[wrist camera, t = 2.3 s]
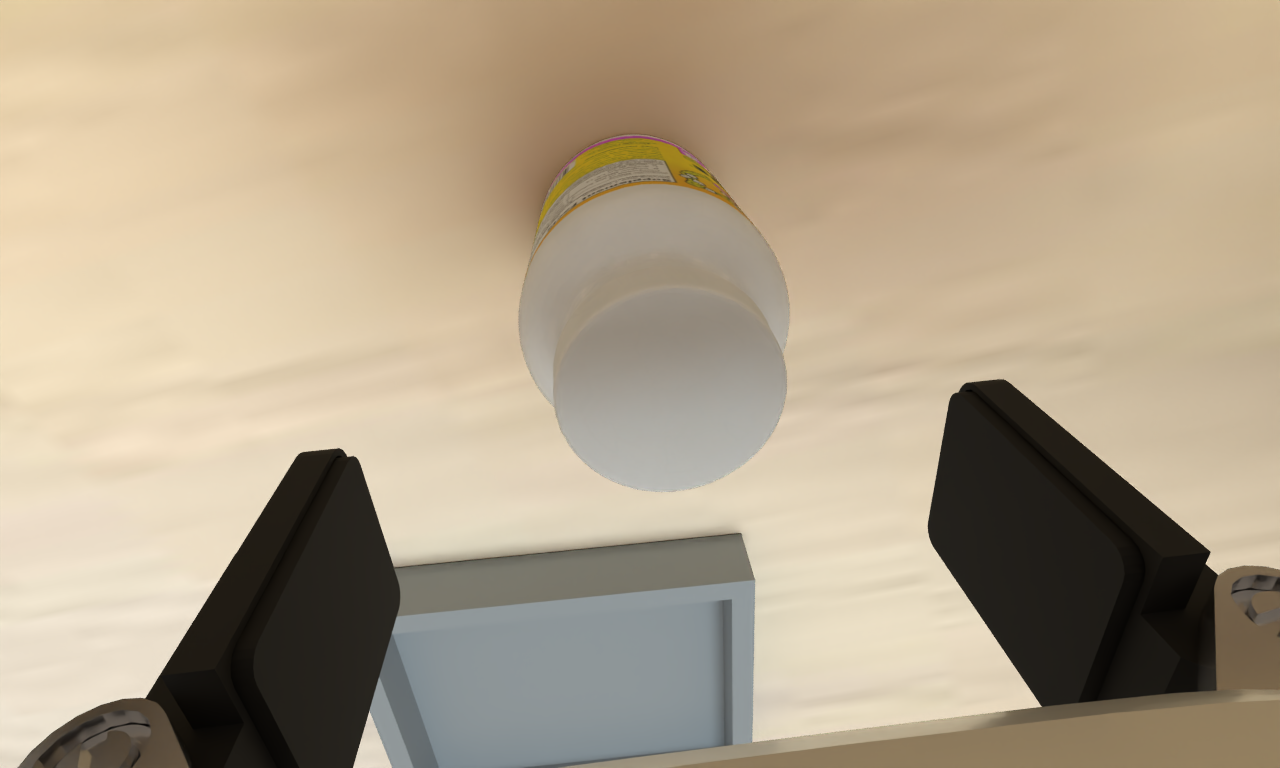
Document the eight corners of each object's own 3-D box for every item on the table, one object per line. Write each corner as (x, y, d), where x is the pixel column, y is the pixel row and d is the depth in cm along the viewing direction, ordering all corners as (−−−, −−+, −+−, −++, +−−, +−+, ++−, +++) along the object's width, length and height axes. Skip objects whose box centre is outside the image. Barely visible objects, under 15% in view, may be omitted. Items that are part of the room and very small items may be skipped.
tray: (741, 533, 32) (755, 580, 29) (740, 744, 40) (751, 796, 37) (355, 572, 31) (334, 622, 29) (430, 778, 39) (418, 833, 36)
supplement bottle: (738, 285, 26) (854, 491, 15) (572, 330, 26) (563, 563, 15) (702, 104, 23) (814, 190, 12) (514, 159, 23) (447, 292, 12)
